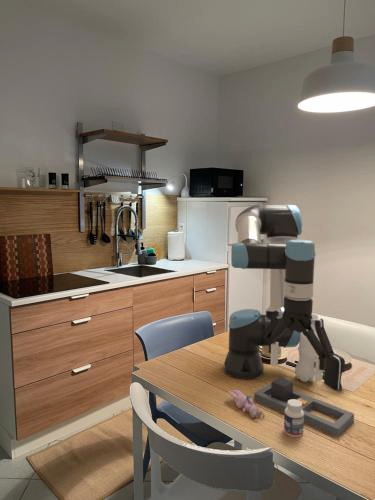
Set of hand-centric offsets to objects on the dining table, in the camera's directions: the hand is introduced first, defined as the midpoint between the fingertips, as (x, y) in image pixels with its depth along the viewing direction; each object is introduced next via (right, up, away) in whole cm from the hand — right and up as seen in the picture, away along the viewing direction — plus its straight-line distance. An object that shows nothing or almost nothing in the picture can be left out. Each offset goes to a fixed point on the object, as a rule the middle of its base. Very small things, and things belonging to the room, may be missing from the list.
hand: (295, 372), depth 106 cm
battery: (+22, -14, +30) cm, 40 cm away
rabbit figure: (-12, -16, +14) cm, 25 cm away
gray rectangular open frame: (+6, -16, +14) cm, 22 cm away
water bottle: (+13, -13, +35) cm, 39 cm away
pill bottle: (0, -18, +2) cm, 18 cm away
